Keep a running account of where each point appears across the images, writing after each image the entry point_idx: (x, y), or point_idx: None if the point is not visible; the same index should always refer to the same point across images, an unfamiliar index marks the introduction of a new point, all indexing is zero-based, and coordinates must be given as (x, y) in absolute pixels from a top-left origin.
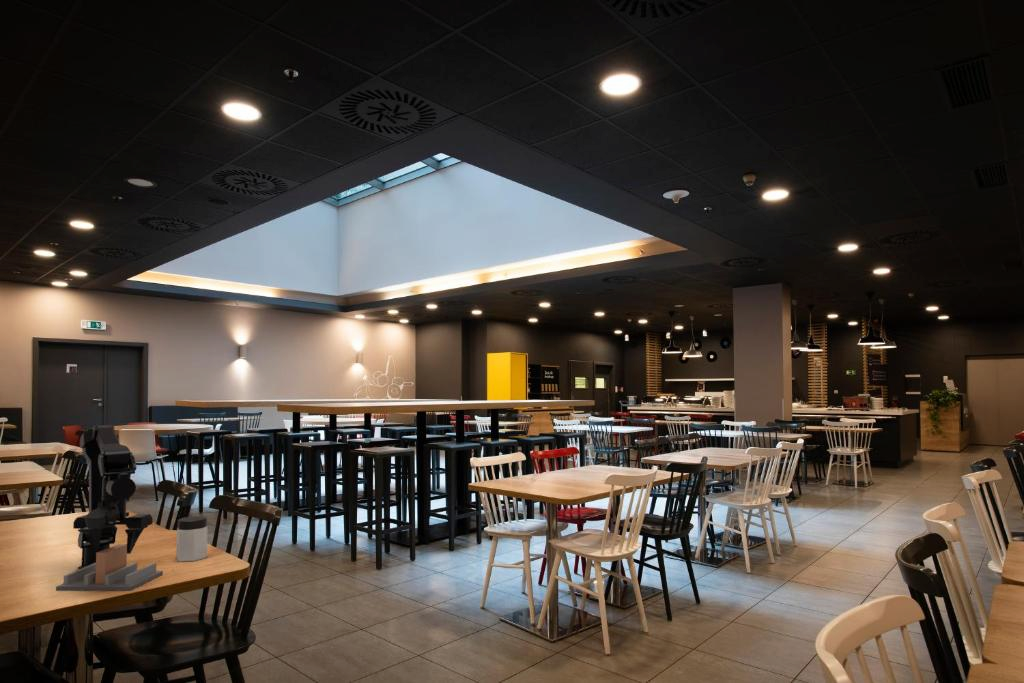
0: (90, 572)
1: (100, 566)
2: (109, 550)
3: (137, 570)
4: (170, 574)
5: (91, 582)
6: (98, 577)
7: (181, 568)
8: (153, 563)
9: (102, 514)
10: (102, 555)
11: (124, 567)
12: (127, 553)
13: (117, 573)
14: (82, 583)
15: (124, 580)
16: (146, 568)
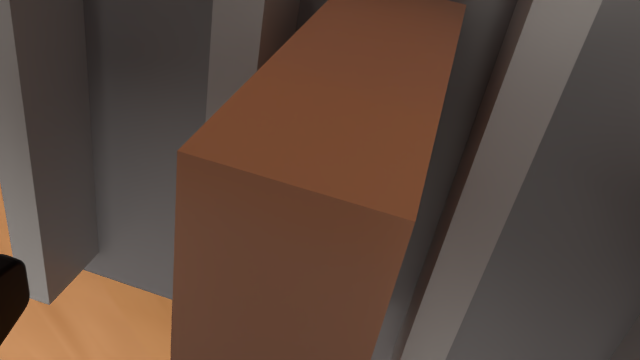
0: (630, 357)
1: (363, 60)
2: (207, 316)
3: (9, 72)
4: (7, 224)
5: (512, 15)
6: (416, 13)
7: (29, 333)
8: (31, 283)
9: None
10: (273, 138)
11: None
12: (11, 257)
13: (216, 73)
14: (636, 53)
15: (191, 54)
16: (4, 160)
